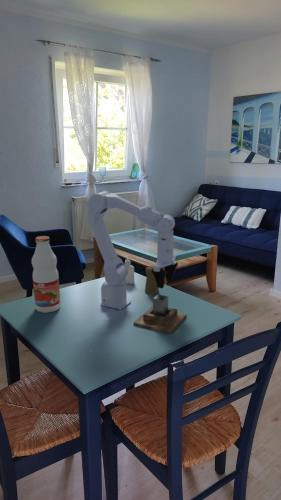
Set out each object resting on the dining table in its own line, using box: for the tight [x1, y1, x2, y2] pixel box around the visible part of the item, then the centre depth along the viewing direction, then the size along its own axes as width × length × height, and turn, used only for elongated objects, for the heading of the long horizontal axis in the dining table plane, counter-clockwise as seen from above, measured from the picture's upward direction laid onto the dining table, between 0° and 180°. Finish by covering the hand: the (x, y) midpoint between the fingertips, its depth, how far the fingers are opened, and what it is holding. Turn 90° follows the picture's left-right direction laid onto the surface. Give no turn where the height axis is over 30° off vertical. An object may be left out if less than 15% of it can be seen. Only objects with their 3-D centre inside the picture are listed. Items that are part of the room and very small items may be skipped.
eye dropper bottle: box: [124, 256, 135, 285], centre depth 169 cm, size 4×6×12 cm
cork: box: [144, 265, 160, 295], centre depth 160 cm, size 6×6×11 cm
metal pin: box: [152, 293, 169, 317], centre depth 133 cm, size 4×4×8 cm
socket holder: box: [133, 306, 187, 335], centre depth 134 cm, size 14×14×4 cm
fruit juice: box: [31, 235, 61, 314], centre depth 142 cm, size 9×9×28 cm
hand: (164, 284), depth 140 cm, fingers open, 7 cm apart
